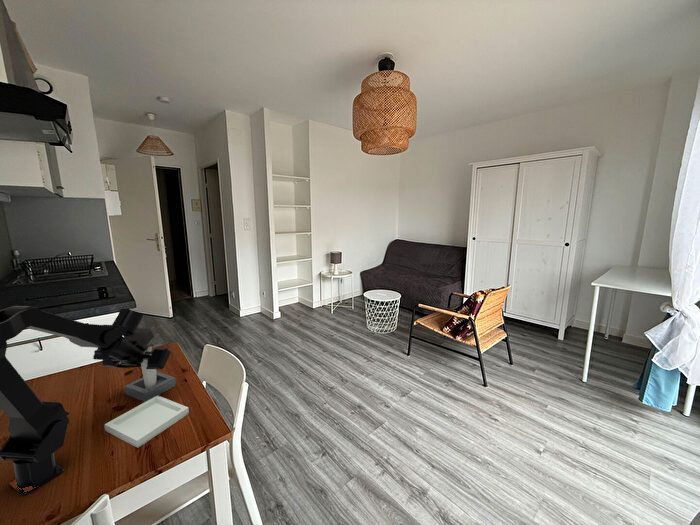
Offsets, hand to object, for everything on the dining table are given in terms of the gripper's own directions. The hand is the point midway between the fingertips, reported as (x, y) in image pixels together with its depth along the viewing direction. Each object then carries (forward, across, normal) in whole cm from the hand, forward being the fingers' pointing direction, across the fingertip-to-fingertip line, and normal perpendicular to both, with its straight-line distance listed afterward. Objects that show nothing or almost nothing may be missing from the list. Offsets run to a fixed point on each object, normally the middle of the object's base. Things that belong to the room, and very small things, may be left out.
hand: (152, 365), depth 94 cm
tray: (-6, -11, +17) cm, 21 cm away
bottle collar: (+5, 0, +7) cm, 8 cm away
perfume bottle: (+5, 0, +7) cm, 8 cm away
